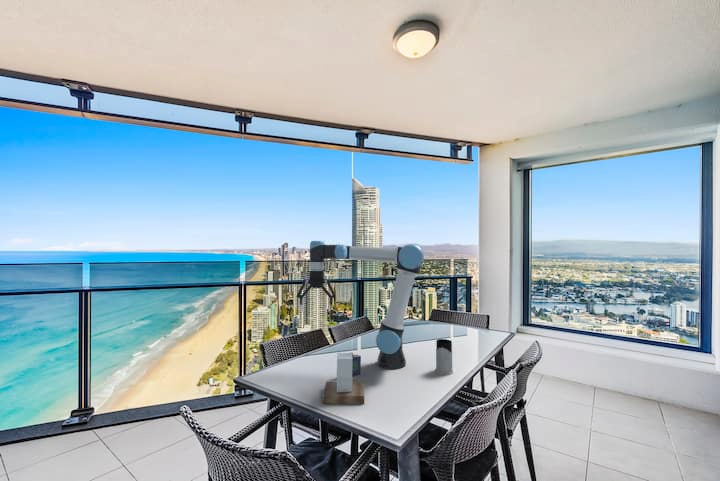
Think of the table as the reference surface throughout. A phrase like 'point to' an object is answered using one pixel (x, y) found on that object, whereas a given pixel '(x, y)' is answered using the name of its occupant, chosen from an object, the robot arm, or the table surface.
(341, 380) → the small box
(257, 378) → the table surface
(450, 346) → the glass holder
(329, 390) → the walnut plinth
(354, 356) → the flask
